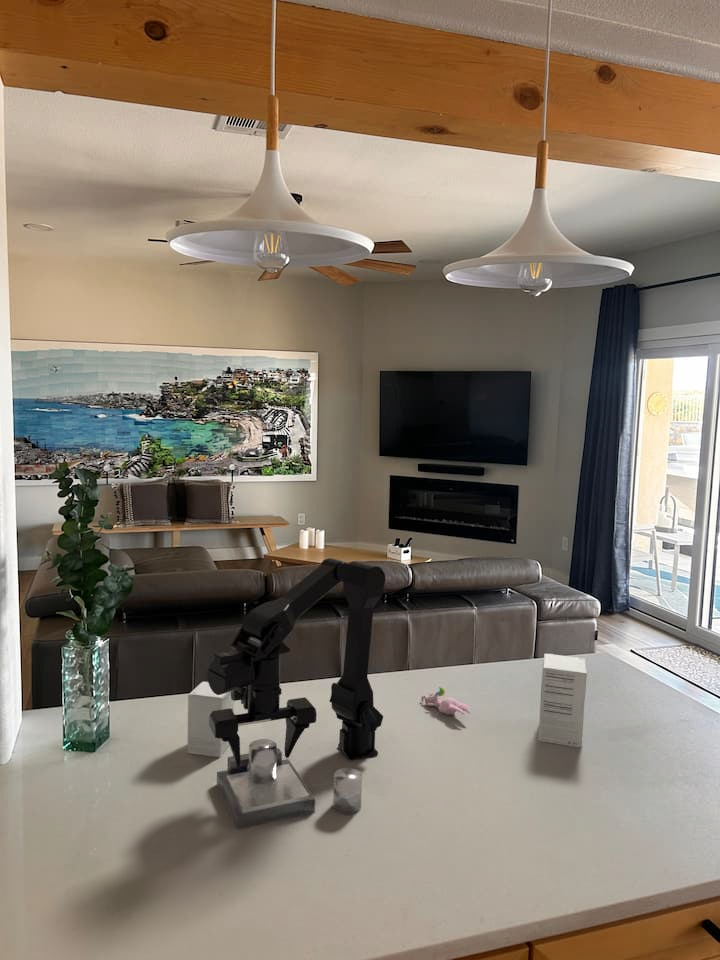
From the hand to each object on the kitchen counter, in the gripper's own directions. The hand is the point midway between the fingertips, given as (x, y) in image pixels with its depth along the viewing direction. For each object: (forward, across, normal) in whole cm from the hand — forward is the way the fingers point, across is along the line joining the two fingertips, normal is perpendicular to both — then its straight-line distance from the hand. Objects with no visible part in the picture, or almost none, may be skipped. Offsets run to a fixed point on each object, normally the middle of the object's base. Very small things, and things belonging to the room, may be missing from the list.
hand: (262, 761), depth 131 cm
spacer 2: (+6, -13, +10) cm, 17 cm away
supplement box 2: (+6, -68, +1) cm, 68 cm away
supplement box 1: (+6, +5, -20) cm, 22 cm away
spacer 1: (+3, 0, 0) cm, 3 cm away
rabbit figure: (+7, -50, -18) cm, 53 cm away
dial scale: (+6, 0, +2) cm, 6 cm away
